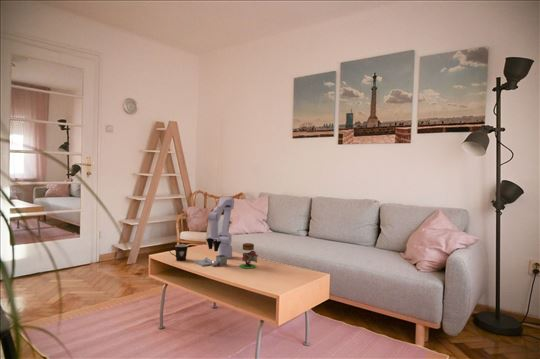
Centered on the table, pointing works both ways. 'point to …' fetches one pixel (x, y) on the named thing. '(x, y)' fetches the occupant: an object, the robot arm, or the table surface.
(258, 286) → the table surface
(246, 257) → the miniature tree model
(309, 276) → the table surface
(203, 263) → the panel
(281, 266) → the table surface
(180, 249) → the coffee mug
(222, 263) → the elbow
